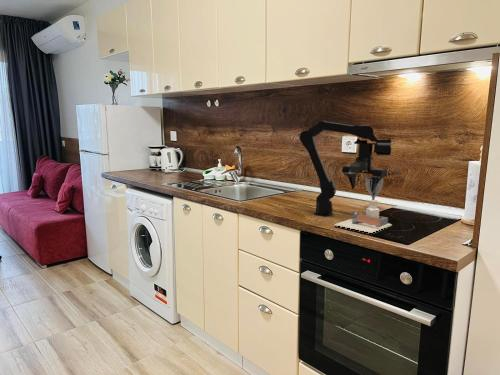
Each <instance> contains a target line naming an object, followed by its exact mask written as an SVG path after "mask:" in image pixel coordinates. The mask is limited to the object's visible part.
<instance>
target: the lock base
mask: <svg viewBox="0 0 500 375" xmlns="http://www.w3.org/2000/svg"><path fill="white" fill-rule="evenodd" d="M363 215H364V216H366V214H363ZM379 219H381V221H380V226H377V225H370V224H368V223H363V222H358V224H353V223H352V218H349V219H346V220H343V221H339V222H337V223H334V227H338V226H340V227H339V228H342V227H345V228H344V229H347V228H350V229H349V230H351V229H355V230H359V231H358V232H360V231H364V232H368V233H367V234H369V233H373V232H375V233H377V232H376V231H378V232H380V231H382V230H381V229H383V230H385V229H388V228H389V227H392V226H393V224H391V223H389V217H386V216H380V215H379ZM384 228H385V229H384ZM355 230H354V231H355ZM379 230H380V231H379ZM364 232H363V233H364ZM373 234H374V233H373Z"/></svg>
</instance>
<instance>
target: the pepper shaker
mask: <svg viewBox="0 0 500 375" xmlns="http://www.w3.org/2000/svg"><path fill="white" fill-rule="evenodd" d="M378 203H379V202H378V200H375V199H374V200H372V199H369V200H368V207H369V208H367V209H365V215H366V216H369V217H374V218H379V216H380V210H379V209H378V208H379V207H378ZM370 225H372V224H370Z"/></svg>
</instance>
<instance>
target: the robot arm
mask: <svg viewBox="0 0 500 375" xmlns="http://www.w3.org/2000/svg"><path fill="white" fill-rule="evenodd" d="M324 131H331V132H336V133H343V134H349V135H352V136H355V137H358V138H357V139H356V141H354V142H353V143H354V144H355V145H356V144H357V145H358V149H357V150H358V151H357V156H356V157H355V161H353V162H351V163H350V164H349V165H343V167H342V168H341V173H343V174H344V175H345V176H346V177H347V178H348V181H349V183H350V186H351V189H352V190H355V187H356V183H357V181H356V180H357V175H358V174H369V175H372V176H370V177H371V178H372V187H371V192H374V190H375V188H376V186H377V184H378V183H379V181H380V180H381V178H383V179H384V177H387V176H388V171H387V169H386V168H373V167H374V166H372V161H373V160H374V156H373V154H374V153H375V154H376V156H389V157H390V156H391V155H392V139H390V138H387V139H378V138H377V136H376V135H375V134H374V131H375V130H374V128H373V126H372V125H369V124H361V125H359V124H357V125H356V124H355V125H353V124H345V123H339V122H338V123H337V122H331V121H326V120H320V121H319V122H318V123H317V124H314V125H313V126H312V127H311V128H309V129H308V130H306V129H305V130H303V131H301V132H300V134H299V136H298V138H299V141H300V142H301V145H302V146H303V147H304V148H305V150H306V151H307V153H308V155H309V158H310V160H311V163H312V165H313V168H314V170H315V172H316V176H317V178H318V180H319V189H320V193H319V194H318V195H317V196H316V201H315V202H316V203H315V204H316V205H315V212H313V214H314V215H318V216H322V217H328V216H331V215H332V216H333V215H334V213H333V204H332V202H333V201H332V200H331V199H333V198H334V197H335V195H336V193H337V188H338V187H337V185H336V184H335V179H331V178H330V177H329V176H328V173H327V170H326V168H325V166H324V163H323V161H322V158H321V156H320V153H319V150H318V148H317V142H316V141H317V140H316V137H317V136H318V135H319V134H321V133H322V132H324ZM360 138H361V139H360ZM362 139H363V140H362ZM368 140H369V141H371V142H368ZM373 146H374V147H373Z"/></svg>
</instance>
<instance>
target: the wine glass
mask: <svg viewBox="0 0 500 375" xmlns="http://www.w3.org/2000/svg"><path fill="white" fill-rule="evenodd" d="M371 177H372V176H367V177H365V188H366V190H367V192H368V193H369V194H370V196H371V200H375V199H376V196H377V195H378V194H379V193H380V192H381V191H382V189H383V187H384V186H383V185H384V178H381V180H380V181H379V183H378V184H377V186H376V188H375V190H374V192H371V187H372V178H371ZM367 208H369V206H367V207H364V209H365V210H366V209H367ZM377 208H378V209H379V211H380V210H381V208H379V207H377Z"/></svg>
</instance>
